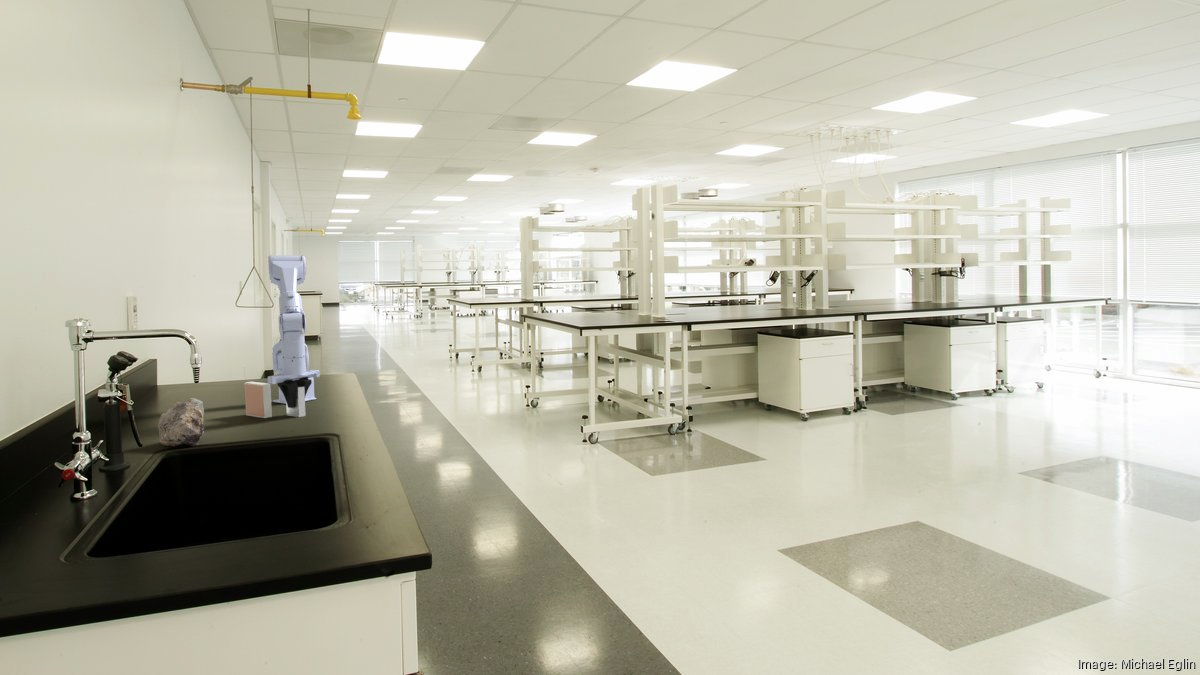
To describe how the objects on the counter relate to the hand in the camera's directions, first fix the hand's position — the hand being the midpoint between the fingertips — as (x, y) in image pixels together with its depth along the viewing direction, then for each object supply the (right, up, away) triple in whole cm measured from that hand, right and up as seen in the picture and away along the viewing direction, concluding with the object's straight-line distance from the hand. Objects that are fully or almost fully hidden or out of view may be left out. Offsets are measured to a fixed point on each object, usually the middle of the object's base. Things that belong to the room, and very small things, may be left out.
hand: (295, 406), depth 176 cm
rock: (-12, -5, -30) cm, 32 cm away
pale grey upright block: (0, -2, 0) cm, 2 cm away
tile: (-10, -3, 0) cm, 10 cm away
